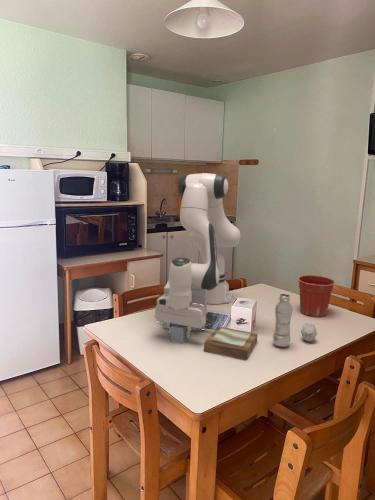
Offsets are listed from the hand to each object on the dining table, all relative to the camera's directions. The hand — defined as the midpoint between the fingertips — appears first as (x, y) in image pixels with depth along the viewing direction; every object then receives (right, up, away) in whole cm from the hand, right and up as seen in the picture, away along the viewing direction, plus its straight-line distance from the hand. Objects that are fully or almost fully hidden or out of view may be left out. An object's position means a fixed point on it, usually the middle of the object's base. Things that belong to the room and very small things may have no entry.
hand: (179, 334), depth 147 cm
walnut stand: (+20, -3, -4) cm, 20 cm away
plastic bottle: (+39, -4, -3) cm, 39 cm away
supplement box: (+2, +1, +16) cm, 16 cm away
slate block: (0, -2, 0) cm, 2 cm away
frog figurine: (+51, -3, +2) cm, 51 cm away
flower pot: (+63, +3, +32) cm, 70 cm away
